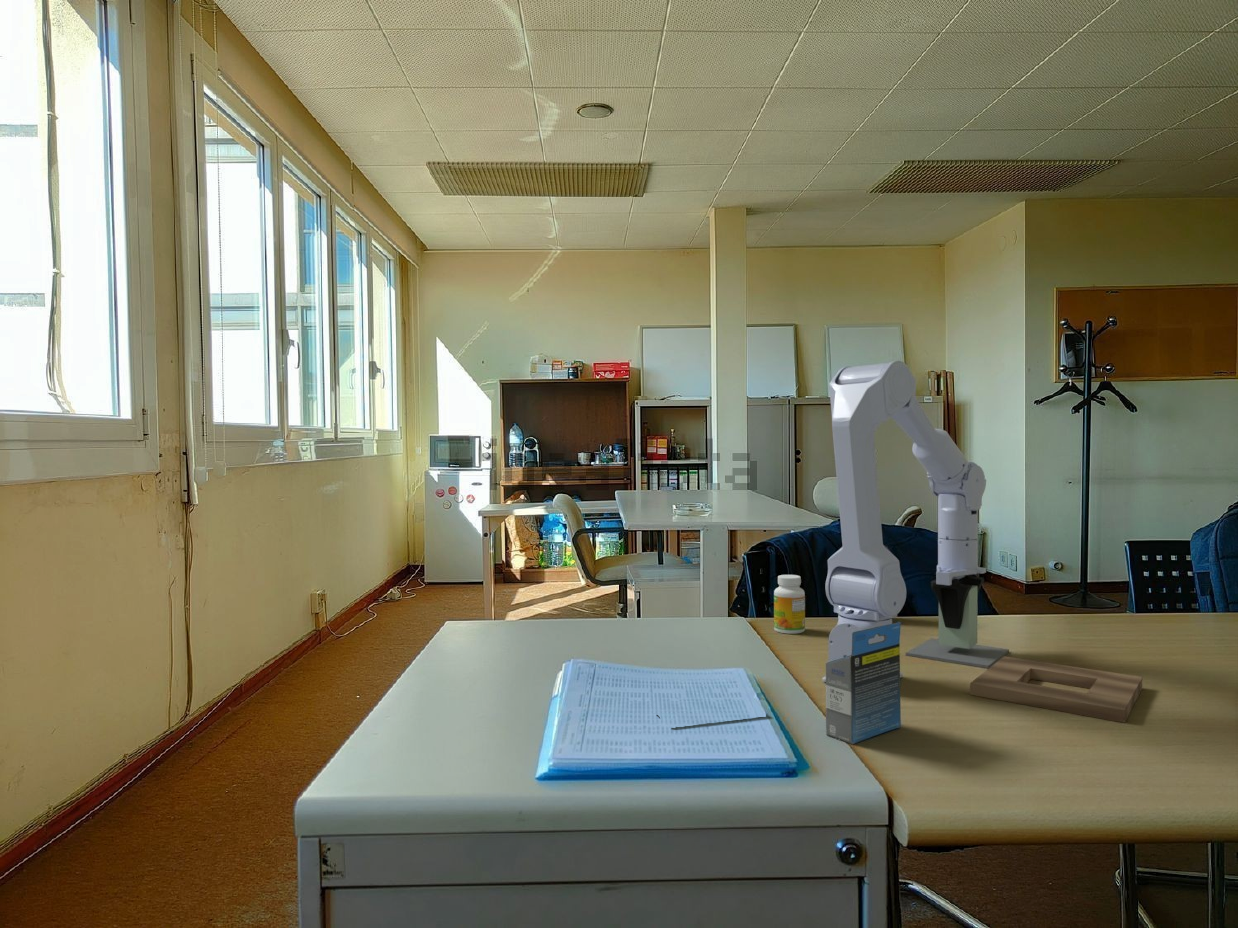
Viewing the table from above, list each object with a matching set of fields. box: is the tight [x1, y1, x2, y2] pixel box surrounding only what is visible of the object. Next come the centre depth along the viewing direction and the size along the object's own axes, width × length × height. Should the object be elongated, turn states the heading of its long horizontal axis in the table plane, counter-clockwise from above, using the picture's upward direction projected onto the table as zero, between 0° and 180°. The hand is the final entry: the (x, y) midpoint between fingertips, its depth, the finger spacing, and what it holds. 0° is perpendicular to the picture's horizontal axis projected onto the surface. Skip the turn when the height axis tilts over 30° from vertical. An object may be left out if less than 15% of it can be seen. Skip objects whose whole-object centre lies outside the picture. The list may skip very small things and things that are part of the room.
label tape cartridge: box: [825, 621, 902, 745], centre depth 88 cm, size 9×4×12 cm, turn 126°
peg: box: [938, 585, 978, 649], centre depth 122 cm, size 4×4×9 cm
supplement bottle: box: [773, 574, 806, 635], centre depth 138 cm, size 5×5×10 cm
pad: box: [905, 638, 1010, 669], centre depth 122 cm, size 12×12×1 cm
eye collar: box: [969, 655, 1143, 724], centre depth 103 cm, size 17×17×2 cm
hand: (957, 624), depth 122 cm, fingers closed on peg, 4 cm apart
